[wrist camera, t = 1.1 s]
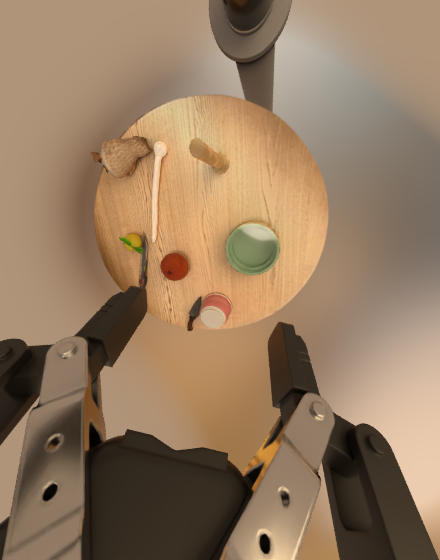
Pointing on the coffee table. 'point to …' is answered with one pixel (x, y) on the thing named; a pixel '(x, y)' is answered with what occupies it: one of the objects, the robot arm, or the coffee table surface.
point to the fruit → (174, 267)
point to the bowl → (252, 248)
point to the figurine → (122, 155)
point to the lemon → (132, 242)
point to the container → (215, 310)
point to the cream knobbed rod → (156, 184)
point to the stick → (209, 156)
